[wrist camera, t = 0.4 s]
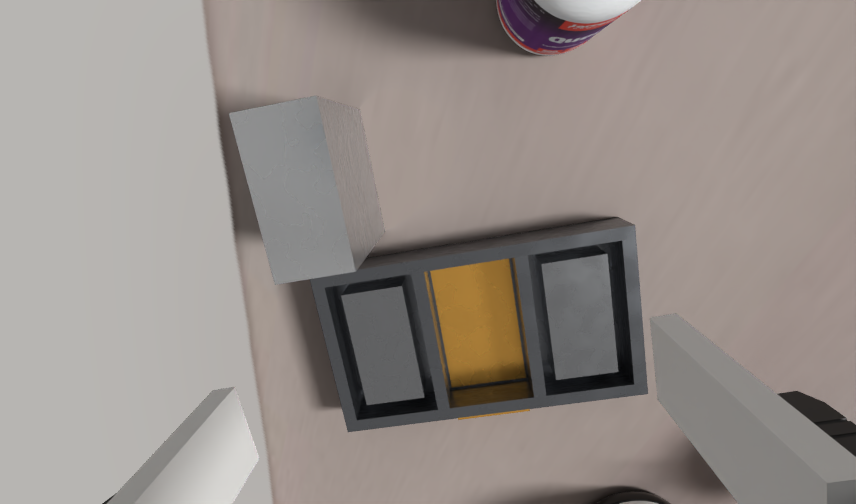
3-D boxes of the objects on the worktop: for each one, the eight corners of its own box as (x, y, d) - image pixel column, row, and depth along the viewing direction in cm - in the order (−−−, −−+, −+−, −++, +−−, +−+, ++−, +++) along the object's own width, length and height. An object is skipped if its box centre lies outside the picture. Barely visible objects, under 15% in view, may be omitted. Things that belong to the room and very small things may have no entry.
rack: (322, 265, 40) (309, 277, 36) (618, 217, 37) (634, 225, 34) (357, 410, 43) (348, 435, 39) (631, 374, 40) (648, 397, 37)
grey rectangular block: (299, 121, 37) (228, 113, 25) (360, 109, 36) (316, 95, 25) (328, 240, 39) (275, 284, 27) (385, 231, 39) (355, 271, 27)
